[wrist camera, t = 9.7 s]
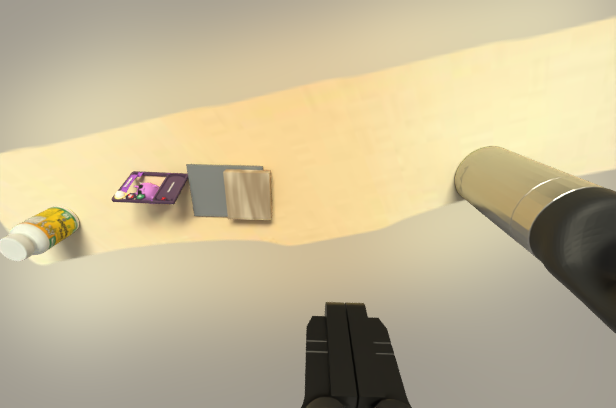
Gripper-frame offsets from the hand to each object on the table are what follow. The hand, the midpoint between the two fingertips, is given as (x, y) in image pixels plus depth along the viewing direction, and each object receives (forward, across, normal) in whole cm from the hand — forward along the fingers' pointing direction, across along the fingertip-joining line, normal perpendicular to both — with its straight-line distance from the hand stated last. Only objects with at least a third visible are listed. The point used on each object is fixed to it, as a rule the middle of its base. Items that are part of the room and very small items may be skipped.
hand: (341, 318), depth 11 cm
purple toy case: (+35, +26, +8) cm, 44 cm away
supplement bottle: (+35, +44, +15) cm, 58 cm away
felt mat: (+35, +15, +9) cm, 39 cm away
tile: (+34, +8, +9) cm, 36 cm away
